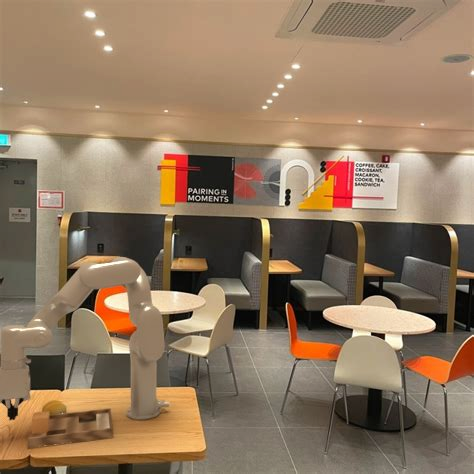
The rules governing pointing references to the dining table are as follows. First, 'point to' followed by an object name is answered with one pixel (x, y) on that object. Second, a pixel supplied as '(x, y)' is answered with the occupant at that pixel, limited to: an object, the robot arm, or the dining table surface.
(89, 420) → the box
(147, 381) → the robot arm
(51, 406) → the bread roll
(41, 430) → the orange block
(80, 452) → the dining table surface
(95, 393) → the dining table surface
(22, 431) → the dining table surface
